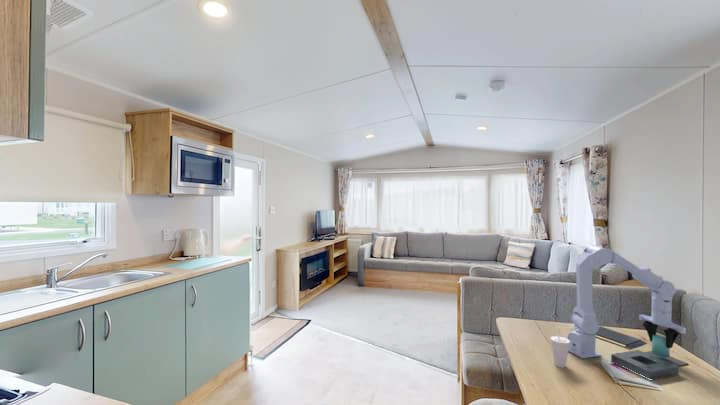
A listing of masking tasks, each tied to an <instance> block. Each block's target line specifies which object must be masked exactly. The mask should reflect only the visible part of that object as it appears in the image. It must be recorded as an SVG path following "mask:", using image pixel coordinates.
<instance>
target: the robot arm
mask: <svg viewBox="0 0 720 405" xmlns="http://www.w3.org/2000/svg"><path fill="white" fill-rule="evenodd" d="M608 264H615V265H617V266H619V267H621V268H622V269H623V270H626V271H627V272H629V273H630V274H631V275H632V278H633V279H634V280H636V281H637V282H639V283H640V284H643V285H644V286H646V287H647V288H648V290H650V291H651V313H650V314H651V315H650V316H649V315H645V314H639V315H638V321H639V320H640V321H644V322H643V323H642V326H643V327H644V329H645V330H646V332H647V335H648V338H649V341H650V342H651V343H652V334H657V331H658V330H657V329H658V327H663V328H664V329H663V332H664V336H666V347H667V348H670V349H671V348H673V346H674V343H675V341H676V340H677V338H678V336H679V335H681V334H682V335H683V334H687V328H686V327H684V326H681V325H678V324H677V323H674V322H673V321H672V310H673V307H672V305H673V303H672V302H673V301H672V300H673V297H674V295H675V294H676V292H677V289H676V288H675V285H674V284H673V282H671V281H668V280H665V279H663V276H662V275H657V274H655V273H654V272H653V271H652V269H650V268H649V267H644V266H636V265H635V264H634V263H633V262H631V261H629V260H628V259H626V258H625V257H623V256H622V255H620V254H619V253H616V252H614V250H613V251H612V250H611V249H609V248H605V247H601V246H597V245H594V244H591V245H588V246H587V247H585V248H583V249H582V252H581V255H580V257H579V259H578V260H577V262H576V264H575V265H576V267H575V269H576V270H575V271H576V274H575V275H576V278H575V279H576V306H575V307H574V308H573V312H572V315H571V322H572V323H573V324H574V326H573V330H572V331H571V332H569V333H568V335H567V339H568V340H569V341H570V345H569V349H568V353H571V354H573V355H576V356H577V357H580V358H581V359H588V358H589V359H591V358H594V357H595V358H596V357H600V356H602V354H601V353H600V352H597V351H596V339H597V338H596V332H598V330H599V327H600V324H599V322H598V321H597V316H596V313H595V311H594V296H593V287H594V285H593V271H594V270H595V269H597V268H600V267H602V266H604V265H608Z"/></svg>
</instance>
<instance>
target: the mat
mask: <svg viewBox="0 0 720 405" xmlns="http://www.w3.org/2000/svg"><path fill="white" fill-rule="evenodd" d="M643 352H644V353H647V354H649V355H652V356H654V357H656V358H659V359H661V360H664V361H666V362H669V363H671V364H673V365H676V366H678V367H684V366H688V365H689V363H687V362H685V361H683V360H680V359H678V358H675V357H673V356H671V355H670V357H660V356H657V355H655V354H653V353H652V350H649V351H643Z"/></svg>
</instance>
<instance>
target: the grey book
mask: <svg viewBox="0 0 720 405" xmlns="http://www.w3.org/2000/svg"><path fill="white" fill-rule="evenodd" d="M596 339H599V340H601V341H603V342H607V343H609V344H613V345H615V346H618V347H621V348H622V349H627V350H629V351H631V350H633V349H636V348H639V347H642V346H645V345H647V344H648V342H646V341H644V340H643V339H640V338H638V337H634V336H632V335H631V336H630V335H628V334H625V333H621V332H619V331H616V330H613V329H610V328H607V327H603V326H600V325H599V330H598V332H596Z"/></svg>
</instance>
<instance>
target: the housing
mask: <svg viewBox="0 0 720 405" xmlns="http://www.w3.org/2000/svg"><path fill="white" fill-rule="evenodd" d="M644 352H645V351H642V350H639V349H635V350H629V351H623V352H617V353H616V352H615V353H611V354H610V355H611V357H610V358H611V359H610V361H611V363H612V362H614V363H617V364H619V365H621V366H624V367H626V368H628V369H630V370H632V371H634V372H636V373H638V374H641V375H643V376H645V377H647V378H649V379H653V380H652V381H654V380H660V379H664V378H668V377H673V376H678V375H679V366H676V365H673V364H671V363H669V362H666V361H664V360H661V359H659V358H656V357H654V356H652V355H649V354H647V353H644ZM614 363H613V364H614ZM619 365H618V366H619ZM621 366H620V367H621Z"/></svg>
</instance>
